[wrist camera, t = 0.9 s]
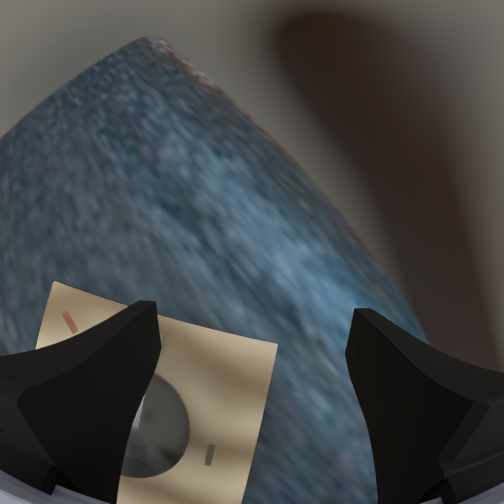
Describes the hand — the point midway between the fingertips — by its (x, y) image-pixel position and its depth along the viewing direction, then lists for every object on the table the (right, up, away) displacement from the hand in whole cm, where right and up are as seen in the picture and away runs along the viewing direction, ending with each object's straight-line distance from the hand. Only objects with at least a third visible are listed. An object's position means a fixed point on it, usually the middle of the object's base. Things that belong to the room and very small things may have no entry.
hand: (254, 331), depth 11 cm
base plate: (-10, -11, +11) cm, 18 cm away
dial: (-9, -9, +10) cm, 16 cm away
